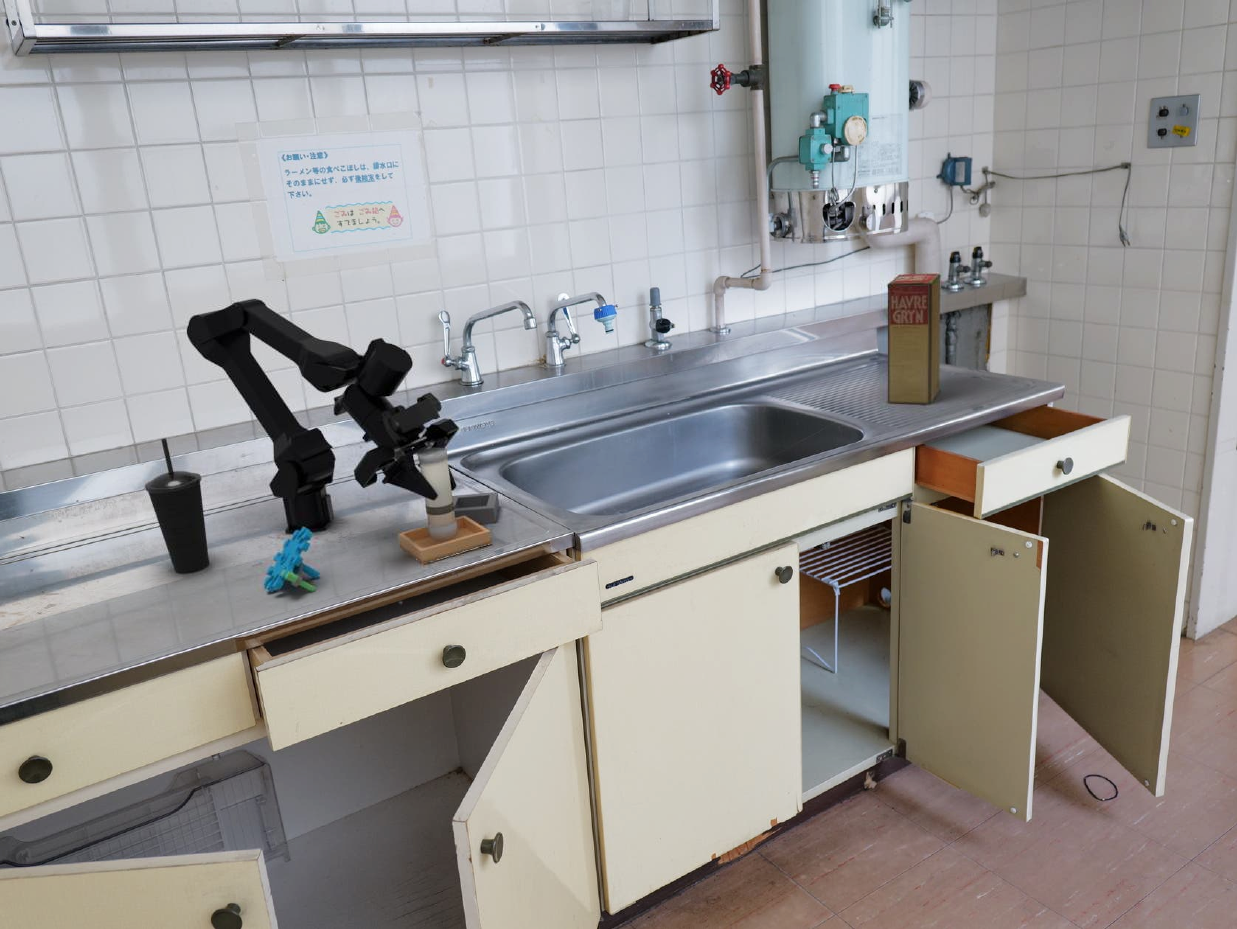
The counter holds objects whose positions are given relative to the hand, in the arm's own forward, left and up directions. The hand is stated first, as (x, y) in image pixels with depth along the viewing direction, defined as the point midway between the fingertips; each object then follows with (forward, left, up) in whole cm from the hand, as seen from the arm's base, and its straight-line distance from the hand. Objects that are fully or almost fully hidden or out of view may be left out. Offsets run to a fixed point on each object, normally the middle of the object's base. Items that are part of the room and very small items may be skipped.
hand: (445, 493), depth 146 cm
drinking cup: (-39, +1, -9) cm, 40 cm away
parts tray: (-1, +1, -8) cm, 9 cm away
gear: (-21, -9, -9) cm, 25 cm away
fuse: (-1, +1, -7) cm, 7 cm away
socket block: (+2, +13, -8) cm, 15 cm away
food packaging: (+90, +65, -9) cm, 111 cm away
